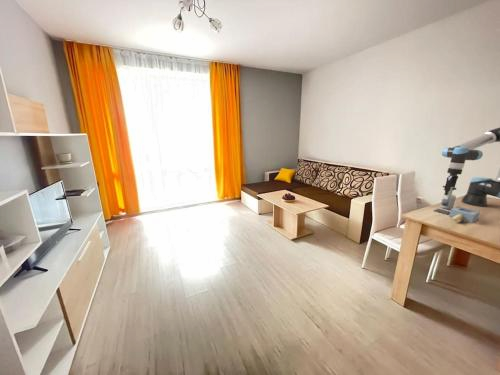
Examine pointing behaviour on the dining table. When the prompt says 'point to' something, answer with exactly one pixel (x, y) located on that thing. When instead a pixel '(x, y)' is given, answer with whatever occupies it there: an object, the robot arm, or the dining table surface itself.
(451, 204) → the can
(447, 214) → the mat
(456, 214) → the block
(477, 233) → the dining table surface
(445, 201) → the silver tall rounded piece
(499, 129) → the robot arm
